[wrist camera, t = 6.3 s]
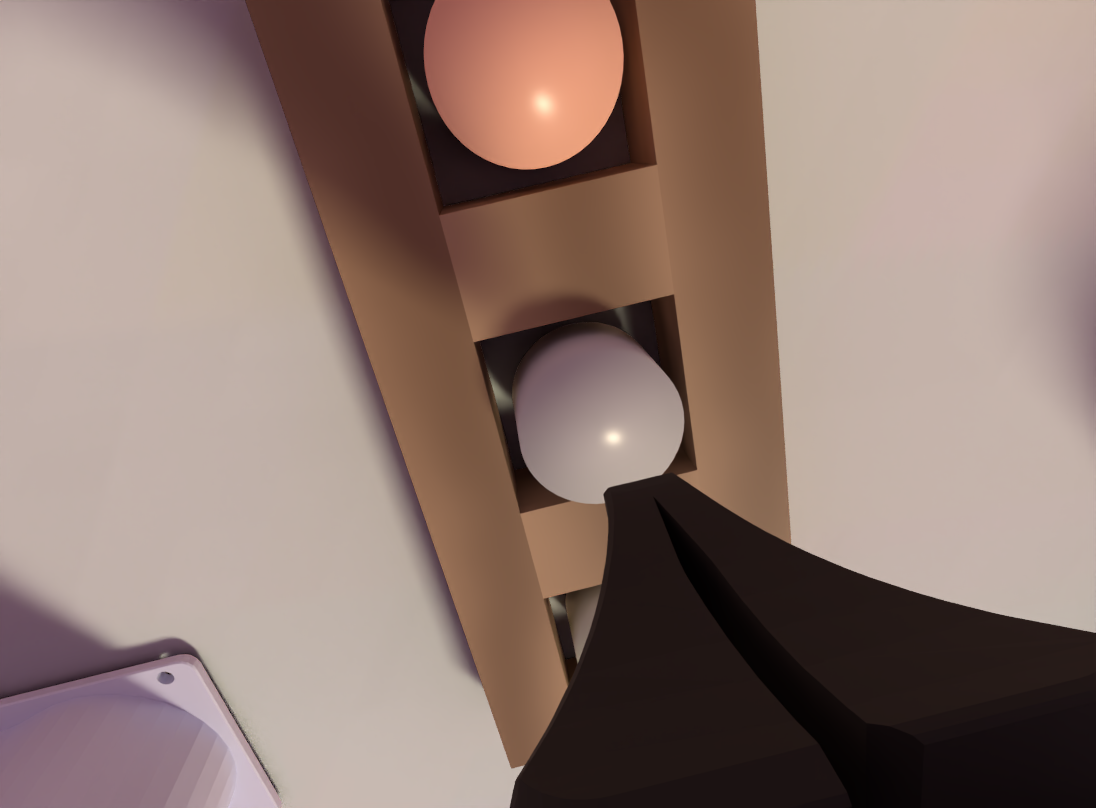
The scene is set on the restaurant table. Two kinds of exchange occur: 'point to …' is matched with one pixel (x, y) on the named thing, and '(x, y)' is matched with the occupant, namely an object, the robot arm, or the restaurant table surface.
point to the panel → (546, 299)
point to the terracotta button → (524, 75)
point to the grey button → (594, 411)
